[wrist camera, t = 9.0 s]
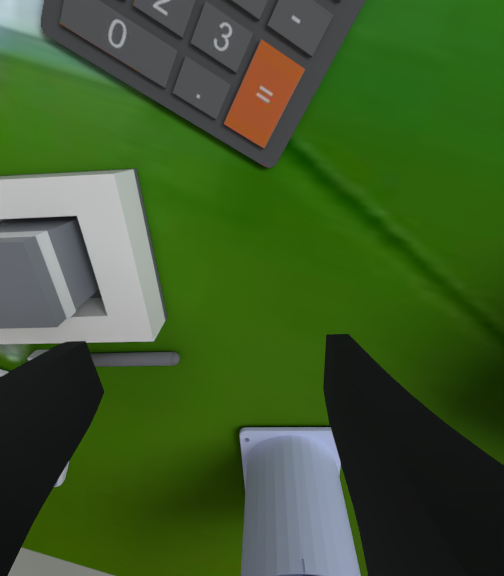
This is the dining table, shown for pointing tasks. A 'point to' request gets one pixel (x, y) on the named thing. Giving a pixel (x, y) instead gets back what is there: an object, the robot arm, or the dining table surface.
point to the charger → (43, 271)
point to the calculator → (213, 58)
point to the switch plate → (96, 253)
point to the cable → (128, 358)
